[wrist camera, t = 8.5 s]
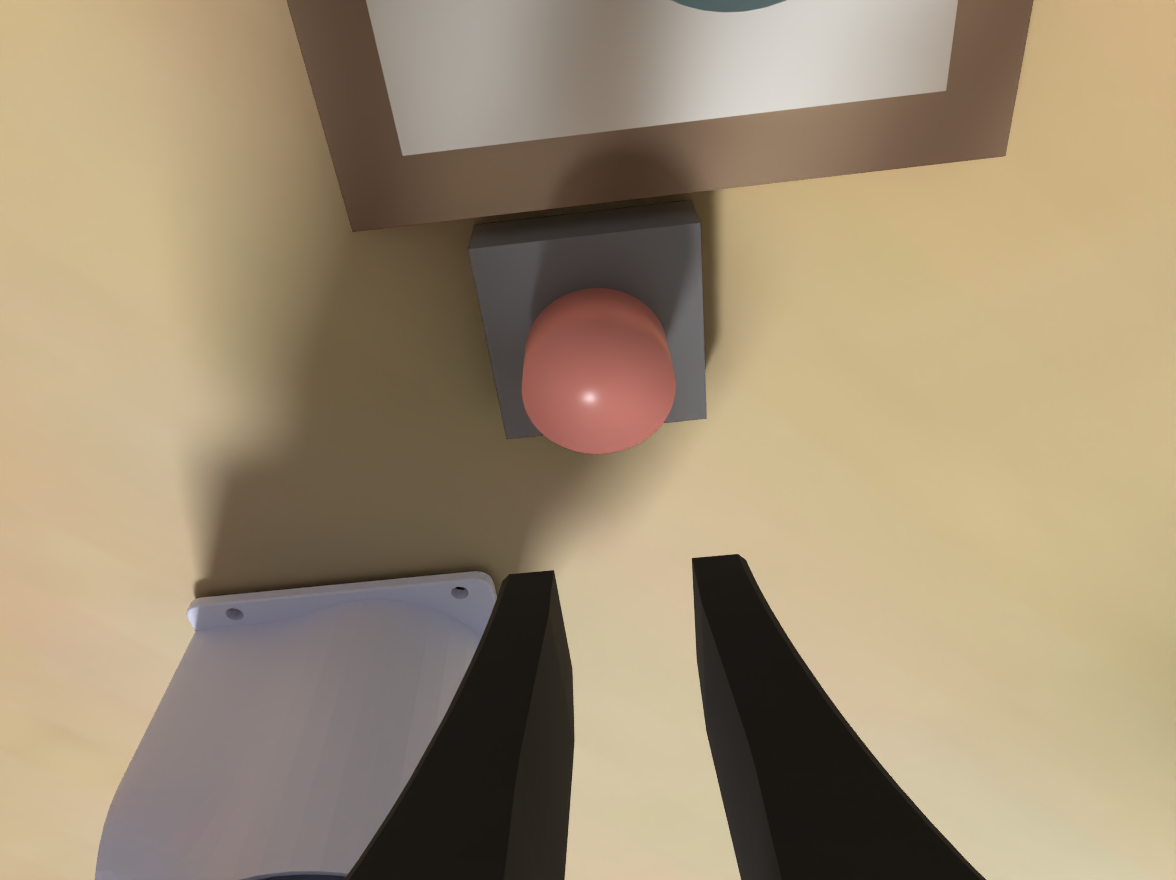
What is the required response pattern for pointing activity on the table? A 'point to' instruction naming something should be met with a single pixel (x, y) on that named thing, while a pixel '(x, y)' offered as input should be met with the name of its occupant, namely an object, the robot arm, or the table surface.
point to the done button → (597, 372)
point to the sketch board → (644, 96)
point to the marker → (727, 4)
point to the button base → (592, 260)
